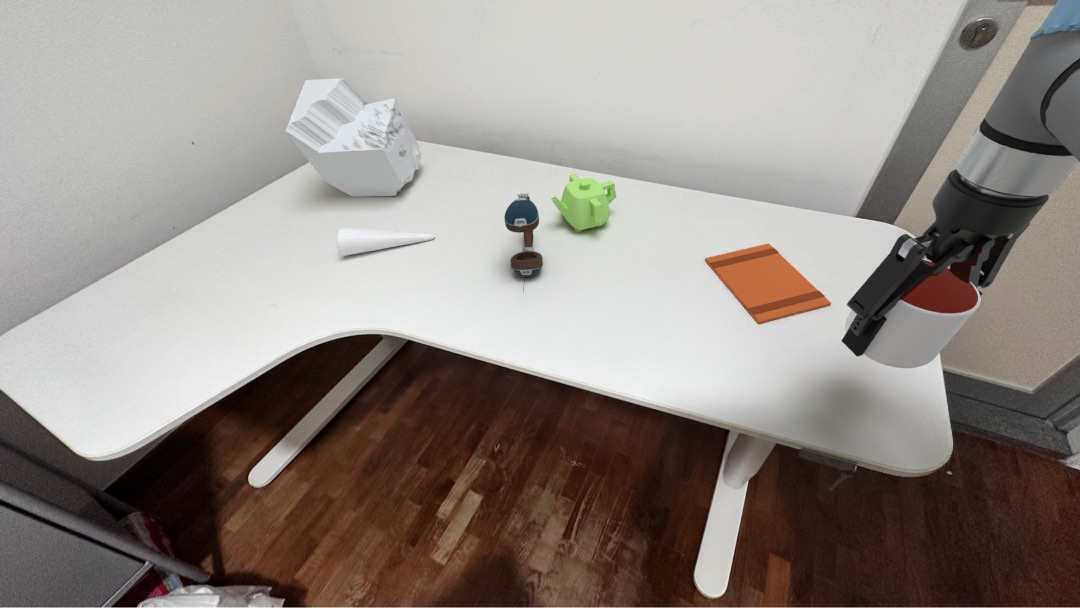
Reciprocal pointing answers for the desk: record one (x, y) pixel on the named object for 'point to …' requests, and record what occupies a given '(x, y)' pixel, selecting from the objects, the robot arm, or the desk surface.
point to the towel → (766, 283)
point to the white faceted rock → (353, 139)
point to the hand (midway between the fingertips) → (888, 338)
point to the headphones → (524, 220)
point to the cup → (923, 321)
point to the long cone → (375, 240)
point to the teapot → (585, 202)
